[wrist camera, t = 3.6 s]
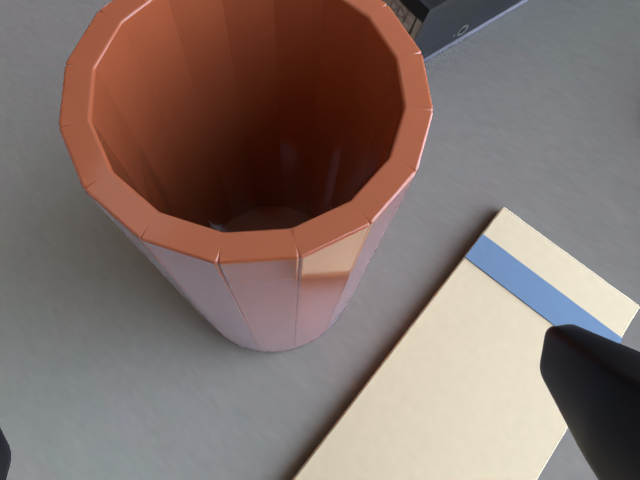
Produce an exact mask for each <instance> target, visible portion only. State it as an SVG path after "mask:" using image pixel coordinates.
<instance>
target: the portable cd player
mask: <svg viewBox="0 0 640 480" xmlns="http://www.w3.org/2000/svg"><path fill="white" fill-rule="evenodd" d="M382 1H384V2H385V3H386V4H387V6H390V8H391V9H392V11H393V12H394V13H395V15H396V16H397V18H398V19H399V21H400V22H401V23H402V25H403V26H404V28H405V29H406V31H407V32H408V33H409V35H410V36H411V38H412V39H413V40H414V42H415V43H416V45H417V46H418V48H419V49H420V51H421V54H422V55H423V60H424V62H426V61H428V60H429V59H431V58H433V57H434V56H436V55H438V54H439V53H441V52H443V51H445V50H446V49H448V48H450V47H451V46H453V45H455V44H456V43H458V42H460V41H461V40H463V39H465V38H466V37H468V36H470V35H471V34H473V33H475V32H476V31H478V30H480V29H481V28H483V27H485V26H486V25H488V24H490V23H491V22H493V21H495V20H497V19H498V18H500V17H502V16H503V15H505V14H507V13H508V12H510V11H512V10H513V9H515V8H517V7H518V6H520V5H522V4H523V3H525V2H527V1H528V0H382Z"/></svg>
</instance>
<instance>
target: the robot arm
mask: <svg viewBox="0 0 640 480" xmlns="http://www.w3.org/2000/svg"><path fill="white" fill-rule="evenodd" d="M540 372H541V376H542V378H543V380H544V382H545V384H546V386H547V388H548V390H549V392H550V394H551V396H552V397H553V399H554V401H555V403H556V405H557V407H558V409H559V411H560V413H561V415H562V416H563V418H564V420H565V422H566V424H567V426H568V428H569V430H570V432H571V433H572V435H573V437H574V439H575V441H576V443H577V445H578V447H579V448H580V450H581V452H582V454H583V456H584V457H585V459H586V461H587V462H588V464H589V466H590V467H591V469H592V470H593V472H594V473H595V475H596V477H597V478H598V480H640V352H638V351H636V350H634V349H631V348H629V347H626V346H624V345H622V344H619V343H617V342H615V341H612V340H610V339H608V338H605V337H603V336H601V335H598V334H596V333H593V332H591V331H589V330H586V329H584V328H582V327H579V326H577V325H574V324H564V325H557V326H552V327H550V328H548V329H547V331H546V332H545V336H544V342H543V348H542V353H541V359H540ZM10 462H11V451H10V447H9V444H8V442H7V440H6V438H5V436H4V434H3V432H2V430H1V428H0V480H6V478H7V474H8V470H9V467H10Z"/></svg>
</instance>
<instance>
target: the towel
mask: <svg viewBox="0 0 640 480" xmlns="http://www.w3.org/2000/svg"><path fill="white" fill-rule="evenodd" d="M639 307H640V306H639V305H637V304H636V303H635V302H633V301H632V300H631V299H629V298H628V297H627V296H625V295H624V294H622V293H621V292H620V291H618V290H617V289H616V288H614V287H613V286H612V285H610V284H609V283H607V282H606V281H605V280H603V279H602V278H601V277H599V276H598V275H596V274H595V273H594V272H592V271H591V270H590V269H588V268H587V267H586V266H584V265H583V264H581V263H580V262H579V261H577V260H576V259H575V258H573V257H572V256H570V255H569V254H568V253H566V252H565V251H564V250H562V249H561V248H560V247H558V246H557V245H555V244H554V243H553V242H551V241H550V240H549V239H547V238H546V237H544V236H543V235H542V234H540V233H539V232H538V231H536V230H535V229H534V228H532V227H531V226H529V225H528V224H527V223H525V222H524V221H523V220H521V219H520V218H519V217H517V216H516V215H514V214H513V213H512V212H510V211H509V210H508V209H506V208H505V207H502V208H501V209H500V210H499V211H498V213H497V214H496V215H495V217H494V218H493V219H492V221H491V222H490V223H489V224H488V226H487V227H486V228H485V230H484V231H483V232H482V234H481V235H480V236H479V237H478V239H477V240H476V241H475V243H474V244H473V245H472V247H471V248H470V249H469V250H468V252H467V253H466V254H465V256H464V257H463V258H462V260H461V261H460V262H459V263H458V265H457V266H456V267H455V269H454V270H453V271H452V273H451V274H450V275H449V276H448V278H447V279H446V280H445V282H444V283H443V284H442V285H441V287H440V288H439V289H438V291H437V292H436V293H435V295H434V296H433V297H432V298H431V300H430V301H429V302H428V304H427V305H426V306H425V308H424V309H423V310H422V311H421V313H420V314H419V315H418V317H417V318H416V319H415V321H414V322H413V323H412V324H411V326H410V327H409V328H408V330H407V331H406V332H405V334H404V335H403V336H402V337H401V339H400V340H399V341H398V343H397V344H396V345H395V346H394V348H393V349H392V350H391V352H390V353H389V354H388V356H387V357H386V358H385V359H384V361H383V362H382V363H381V365H380V366H379V367H378V369H377V370H376V371H375V372H374V374H373V375H372V376H371V378H370V379H369V380H368V382H367V383H366V384H365V385H364V387H363V388H362V389H361V391H360V392H359V393H358V395H357V396H356V397H355V398H354V400H353V401H352V402H351V404H350V405H349V406H348V408H347V409H346V410H345V411H344V413H343V414H342V415H341V417H340V418H339V419H338V420H337V422H336V423H335V424H334V426H333V427H332V428H331V430H330V431H329V432H328V433H327V435H326V436H325V437H324V439H323V440H322V441H321V443H320V444H319V445H318V446H317V448H316V449H315V450H314V452H313V453H312V454H311V456H310V457H309V458H308V459H307V461H306V462H305V463H304V465H303V466H302V467H301V469H300V470H299V471H298V472H297V474H296V475H295V476H294V478H293V479H292V480H537V478H538V477H539V475H540V473H541V472H542V470H543V468H544V467H545V465H546V463H547V462H548V460H549V458H550V457H551V455H552V453H553V452H554V450H555V448H556V447H557V445H558V443H559V442H560V440H561V438H562V437H563V435H564V433H565V431H566V430H567V428H568V426H567V424H566V422H565V420H564V418H563V416H562V415H561V413H560V411H559V409H558V407H557V405H556V403H555V401H554V399H553V397H552V396H551V394H550V392H549V390H548V388H547V386H546V384H545V382H544V380H543V378H542V376H541V372H540V359H541V353H542V348H543V342H544V336H545V332H546V331H547V329H548V328H550V327H552V326H557V325H564V324H574V325H577V326H579V327H582V328H584V329H586V330H589V331H591V332H593V333H596V334H598V335H601V336H603V337H605V338H608V339H610V340H612V341H615V342H617V343H619V344H620V342H621V340H622V338H621V337H622V336H623V334H624V332H625V331H626V329H627V327H628V326H629V324H630V322H631V321H632V319H633V317H634V316H635V314H636V312H637V311H638V309H639Z"/></svg>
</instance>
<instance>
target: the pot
mask: <svg viewBox="0 0 640 480" xmlns="http://www.w3.org/2000/svg"><path fill="white" fill-rule="evenodd" d="M432 117H433V106H432V101H431V96H430V91H429V86H428V80H427V75H426V70H425V65H424V60H423V55H422V54H421V51H420V49H419V48H418V46H417V45H416V43H415V42H414V40H413V39H412V38H411V36H410V35H409V33H408V32H407V31H406V29H405V28H404V26H403V25H402V23H401V22H400V21H399V19H398V18H397V16H396V15H395V13H394V12H393V11H392V9H391V8H390V6H387V4H386V3H385V2H384V1H382V0H112V1H111V2H109V3H108V4H107V5H105V6H104V7H103V8H101V9H100V12H97V13H96V15H95V16H94V18H93V20H92V21H91V23H90V24H89V26H88V28H87V29H86V31H85V32H84V34H83V36H82V37H81V39H80V41H79V42H78V44H77V45H76V47H75V49H74V50H73V52H72V53H71V55H70V57H69V58H68V60H67V61H66V66H65V72H64V82H63V91H62V100H61V109H60V119H59V126H60V133H61V135H62V138H63V140H64V143H65V145H66V148H67V150H68V153H69V155H70V158H71V160H72V163H73V165H74V168H75V170H76V173H77V175H78V178H79V180H80V183H81V185H82V188H83V189H84V190H85V191H86V193H87V194H88V195H89V196H90V198H91V199H92V200H93V201H94V202H95V203H96V204H97V205H98V206H99V207H100V208H101V209H102V210H103V211H104V212H105V213H106V215H107V216H108V217H109V218H110V219H111V220H112V221H113V222H114V223H115V224H116V225H117V226H118V227H119V228H120V229H121V230H122V232H123V233H124V234H125V235H126V236H127V237H128V238H129V239H130V240H131V241H132V242H133V243H134V244H135V245H136V246H137V247H138V249H139V250H140V251H141V252H142V253H143V254H144V255H145V256H146V257H147V258H148V259H149V260H150V261H151V262H152V263H153V264H154V266H155V267H156V268H157V269H158V270H159V271H160V272H161V273H162V274H163V275H164V276H165V277H166V278H167V279H168V280H169V281H170V283H171V284H172V285H173V286H174V287H175V288H176V289H177V290H178V291H179V292H180V293H181V294H182V295H183V296H184V297H185V298H186V300H187V301H188V302H189V303H190V304H191V305H192V306H193V307H194V308H195V309H196V310H197V311H198V312H199V313H200V314H201V315H202V317H203V318H204V319H205V320H206V321H208V322H209V323H210V324H211V325H212V326H213V327H214V328H215V329H216V330H217V331H218V332H219V333H221V334H222V335H223V336H224V337H225V338H226V339H228V340H230V341H232V342H234V343H235V344H237V345H240V346H242V347H245V348H248V349H252V350H256V351H263V352H281V351H288V350H292V349H295V348H299V347H301V346H303V345H306V344H308V343H310V342H312V341H313V340H315V339H317V338H318V337H319V336H321V335H322V334H323V333H324V332H326V331H327V330H328V329H329V328H330V327H331V326H332V325H333V323H334V322H335V321H336V319H337V318H338V317H339V315H340V314H341V313H342V311H343V310H344V309H345V307H346V305H347V303H348V301H349V300H350V298H351V296H352V294H353V292H354V290H355V288H356V286H357V284H358V283H359V281H360V279H361V277H362V275H363V273H364V271H365V269H366V267H367V265H368V264H369V262H370V260H371V258H372V256H373V254H374V252H375V250H376V248H377V247H378V245H379V243H380V241H381V239H382V237H383V235H384V233H385V231H386V230H387V228H388V226H389V224H390V222H391V220H392V218H393V216H394V214H395V213H396V211H397V209H398V207H399V205H400V203H401V201H402V199H403V197H404V196H405V194H406V192H407V190H408V188H409V186H410V184H411V182H412V180H413V178H414V177H415V175H416V173H417V171H418V168H419V165H420V161H421V157H422V154H423V150H424V146H425V143H426V139H427V135H428V132H429V128H430V125H431V121H432Z"/></svg>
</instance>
